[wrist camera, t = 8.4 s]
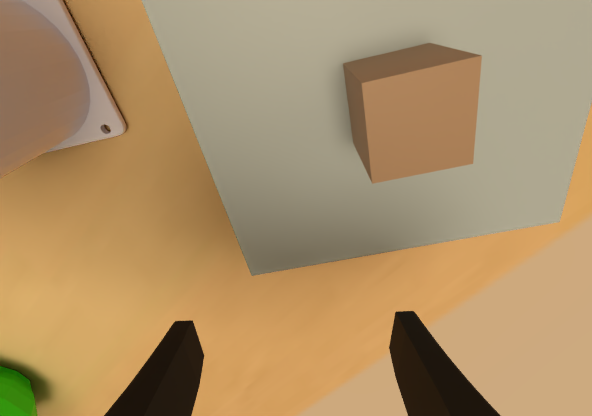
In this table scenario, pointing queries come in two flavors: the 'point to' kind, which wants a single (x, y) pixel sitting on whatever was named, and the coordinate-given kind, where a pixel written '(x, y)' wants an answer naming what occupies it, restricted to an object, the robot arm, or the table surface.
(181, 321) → the robot arm
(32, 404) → the plastic bottle
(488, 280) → the table surface
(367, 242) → the lid
